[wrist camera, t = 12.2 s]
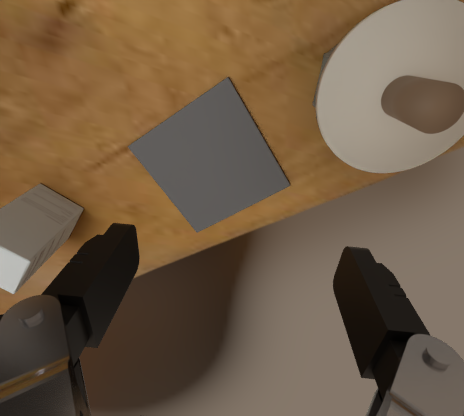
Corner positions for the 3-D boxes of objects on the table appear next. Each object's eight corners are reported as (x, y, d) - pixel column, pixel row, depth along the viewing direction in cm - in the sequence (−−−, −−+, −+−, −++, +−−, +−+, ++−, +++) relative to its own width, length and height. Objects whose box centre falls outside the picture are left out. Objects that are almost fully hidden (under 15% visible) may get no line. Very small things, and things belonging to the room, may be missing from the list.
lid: (341, -13, 23) (372, -35, 17) (523, 8, 23) (624, -7, 17) (300, 159, 31) (311, 188, 24) (438, 176, 30) (485, 210, 24)
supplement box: (26, 214, 45) (-47, 267, 34) (40, 181, 42) (-36, 228, 31) (69, 238, 47) (13, 296, 36) (86, 208, 44) (29, 262, 33)
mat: (129, 145, 38) (127, 146, 38) (228, 76, 33) (227, 77, 33) (197, 230, 44) (196, 232, 44) (289, 184, 39) (290, 185, 39)
